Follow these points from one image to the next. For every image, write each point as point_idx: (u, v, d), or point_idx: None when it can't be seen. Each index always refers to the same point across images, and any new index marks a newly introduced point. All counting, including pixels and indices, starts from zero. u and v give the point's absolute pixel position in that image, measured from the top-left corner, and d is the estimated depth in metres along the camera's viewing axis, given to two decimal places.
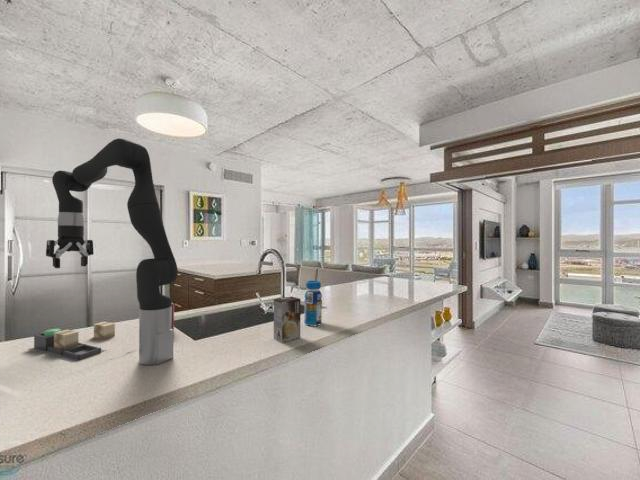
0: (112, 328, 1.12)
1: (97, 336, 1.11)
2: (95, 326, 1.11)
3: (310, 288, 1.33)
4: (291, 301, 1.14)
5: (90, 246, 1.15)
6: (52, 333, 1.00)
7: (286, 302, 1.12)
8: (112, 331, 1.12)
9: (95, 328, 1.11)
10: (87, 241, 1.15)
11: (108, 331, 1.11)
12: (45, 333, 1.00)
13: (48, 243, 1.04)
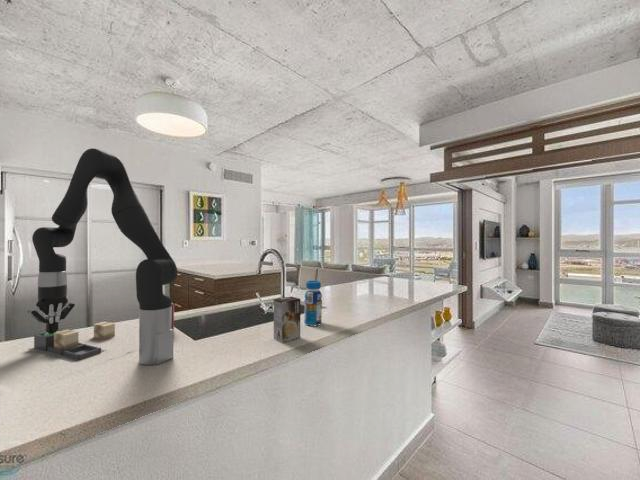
0: (112, 328, 1.12)
1: (97, 336, 1.11)
2: (95, 326, 1.11)
3: (310, 288, 1.33)
4: (291, 301, 1.14)
5: (68, 309, 1.05)
6: None
7: (286, 302, 1.12)
8: (112, 331, 1.12)
9: (95, 328, 1.11)
10: (69, 303, 1.06)
11: (108, 331, 1.11)
12: (45, 335, 1.00)
13: (31, 314, 0.97)
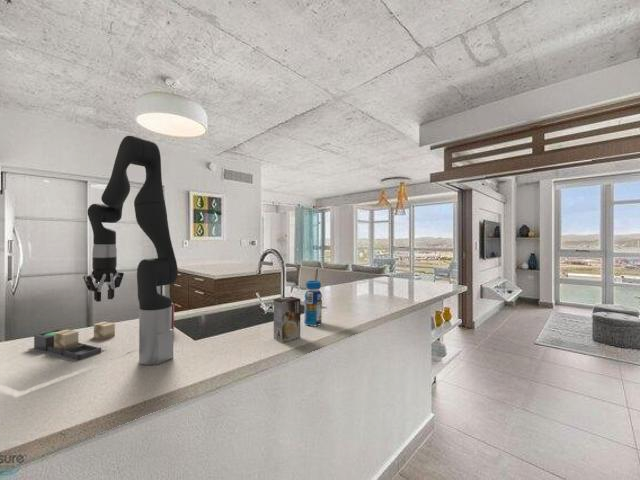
0: (112, 328, 1.12)
1: (97, 336, 1.11)
2: (95, 326, 1.11)
3: (310, 288, 1.33)
4: (291, 301, 1.14)
5: (119, 278, 1.16)
6: None
7: (286, 302, 1.12)
8: (112, 331, 1.12)
9: (95, 328, 1.11)
10: (119, 273, 1.16)
11: (108, 331, 1.11)
12: None
13: (85, 280, 1.06)
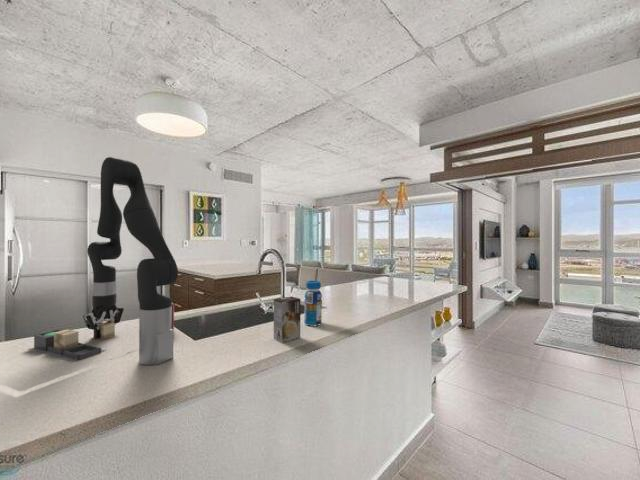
0: (112, 328, 1.12)
1: None
2: None
3: (310, 288, 1.33)
4: (291, 301, 1.14)
5: (119, 314, 1.16)
6: None
7: (286, 302, 1.12)
8: (111, 331, 1.12)
9: None
10: (118, 308, 1.17)
11: (108, 331, 1.11)
12: None
13: (85, 319, 1.06)
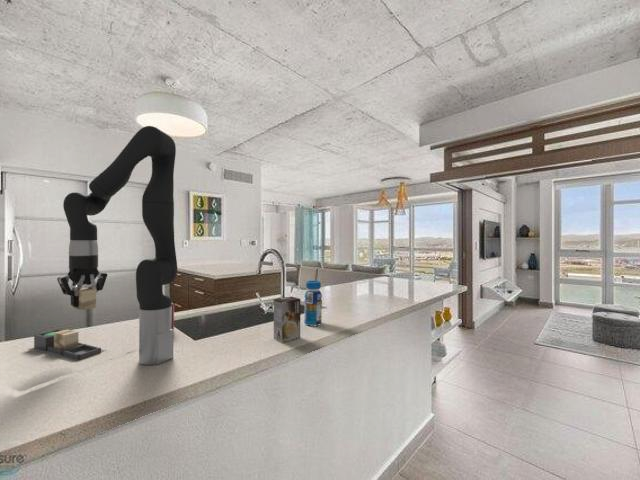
0: (93, 295, 0.96)
1: None
2: None
3: (310, 288, 1.33)
4: (291, 301, 1.14)
5: (102, 280, 1.00)
6: None
7: (286, 302, 1.12)
8: (92, 298, 0.96)
9: None
10: (101, 274, 1.00)
11: (88, 298, 0.95)
12: None
13: (59, 282, 0.90)
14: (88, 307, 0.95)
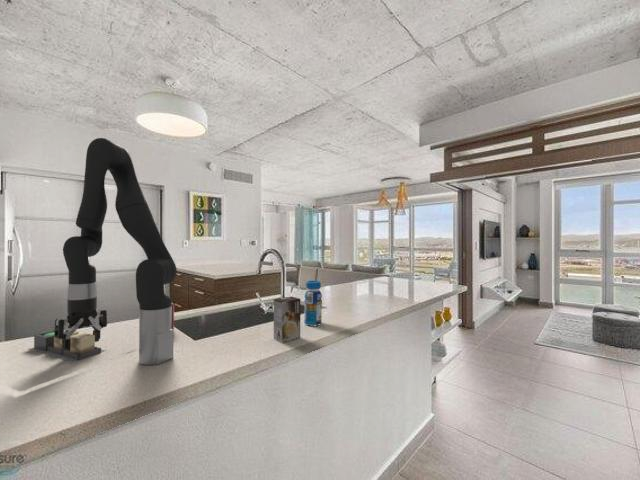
0: (91, 341, 0.96)
1: (73, 350, 0.94)
2: (71, 339, 0.95)
3: (310, 288, 1.33)
4: (291, 301, 1.14)
5: (103, 317, 1.01)
6: None
7: (286, 302, 1.12)
8: (91, 344, 0.95)
9: (71, 340, 0.95)
10: (100, 312, 1.00)
11: (87, 344, 0.94)
12: None
13: (56, 323, 0.89)
14: None
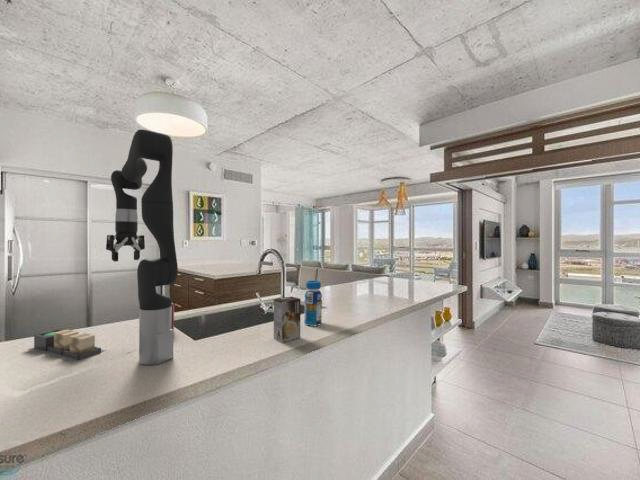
0: (91, 341, 0.96)
1: (73, 350, 0.94)
2: (71, 339, 0.95)
3: (310, 288, 1.33)
4: (291, 301, 1.14)
5: (142, 241, 1.23)
6: None
7: (286, 302, 1.12)
8: (91, 344, 0.95)
9: (71, 340, 0.95)
10: (139, 236, 1.22)
11: (87, 344, 0.94)
12: None
13: (108, 238, 1.11)
14: None
